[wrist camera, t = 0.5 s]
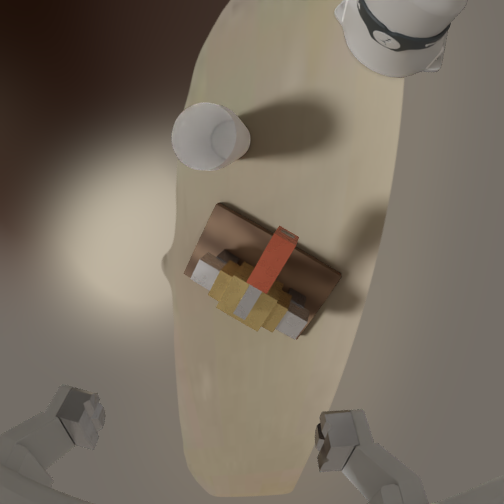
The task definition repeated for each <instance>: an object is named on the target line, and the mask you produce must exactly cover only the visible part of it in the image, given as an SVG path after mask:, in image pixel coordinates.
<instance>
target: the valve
mask: <svg viewBox="0 0 504 504" xmlns="http://www.w3.org/2000/svg"><path fill="white" fill-rule="evenodd" d="M239 260H240V258H239V257H237V256H235V255H233V254H232V253H230V252H228V251H227V250H225V249H224V250H223V251H222V252H221V253H220V254H219V255H217V257H216V256H214V255H212V254H211V253H209V252H208V253H206V254H205V255H204V256H203V257H202V258H200V259H199V261H198V263H197V266H196V268H195V270H194V272H193V274H192V276H191V278H190V279H192V280H193V281H195V282H196V283H198V284H200V285H201V286H203V287H205V288H206V289H208V290H210V292H209V293H208V295H209V296H211V297H212V298H214V299H216V300H217V301H219V303H218V305H217V307H216V308H218V309H220V310H221V311H223V312H225V313H226V314H228V315H230V316H231V317H233V318H235V319H237V320H238V321H240V322H242V323H243V324H245V325H247V326H249V327H250V328H252V329H254V330H256V331H257V332H258V330H259V329H260V327H261V326H262V327H264V328H265V329H267V330H269V331H271V332H273V331H274V330H275V329H277V330H278V331H280V332H282V333H284V334H286V335H287V336H289V337H291V338H293V339H296V338H297V336H298V335H299V333H300V332H301V331H302V329H303V328H304V327H305V325H306V324H307V323H308V317H309V310H307V309H305V308H304V307H305V301H306V296H304V295H302V294H301V293H299V292H297V291H295V290H294V289H292V288H290V289H289V291H288V293H286V292H284V291H282V287H283V285H284V284H282V283H281V282H279V281H277V280H275V281H274V283H273V284H272V286H271V288H270V289H269V291H268V293H267V294H265V293H264V292H262V293H261V295H260V296H259V298H258V299H257V301H256V303H255V304H254V306H253V308H252V309H251V311H250V312H249V314H248V316H247V317H246V319H245V320H243V319H242V318H240V317H238V316H237V315H235V314H233V313H234V311H235V309H236V308H237V306H238V304H239V302H240V301H241V299H242V297H243V296H244V294H245V292H246V290H247V289H248V287H249V285H250V284H248V283H246V282H247V280H248V278H249V277H250V275H251V273H252V271H253V270H254V268H255V267H253V266H251V265H250V264H248V263H246V262H245V261H244V262H243V264H242V265H241V266H239V265H238V264H237V263H238V261H239Z"/></svg>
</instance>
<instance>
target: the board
mask: <svg viewBox="0 0 504 504" xmlns="http://www.w3.org/2000/svg"><path fill="white" fill-rule="evenodd" d="M273 235H274V234H273V233H271V232H270V231H268V230H266V229H265V228H263V227H261V226H259V225H258V224H256V223H254V222H252V221H251V220H249V219H247V218H245V217H244V216H242V215H240V214H238V213H237V212H235V211H233V210H231V209H229V208H228V207H226V206H224V205H222V204H221V203H217V204H216V205H215V208H214V210H213V212H212V214H211V216H210V218H209V220H208V222H207V224H206V226H205V228H204V231H203V233H202V235H201V237H200V239H199V241H198V243H197V245H196V248H195V250H194V252H193V254H192V256H191V258H190V261H189V263H188V265H187V267H186V269H185V272H184V274H185V275H187V276H188V277H190V278H191V276H192V274H193V272H194V270H195V268H196V266H197V263H198V261H199V259H200V258H202V257H203V256H204V255H205V254H206V253H208V252H209V253H211V254H212V255H214V256H216V257H217V255H219V254H220V253H221V252H222V251H223V250H224V249H225V250H227V251H228V252H230V253H232V254H233V255H235V256H237V257H239V258H240V260H239V261H238V263H237V264H238V265H239V266H241V265H242V264H243V262H244V261H245V262H246V263H248V264H250V265H251V266H253V267H255V266H256V264H257V263H258V261H259V259H260V257H261V256H262V254H263V252H264V250H265V249H266V247H267V245H268V243H269V242H270V240H271V238H272V236H273ZM341 277H342V276H341V273H340V272H338V271H336V270H335V269H333V268H331V267H329V266H328V265H326V264H324V263H323V262H321V261H319V260H318V259H316V258H314V257H313V256H311V255H309V254H308V253H306V252H304V251H302V250H301V249H299V248H297V247H295V248H294V250H293V252H292V253H291V255H290V257H289V258H288V260H287V262H286V263H285V265H284V266H283V268H282V270H281V271H280V273H279V275H278V276H277V278H276V280H277V281H279V282H281V283H282V284H284V285H283V287H282V291H284V292H286V293H288V291H289V289H290V288H292V289H294V290H295V291H297V292H299V293H301V294H302V295H304V296H306V301H305V307H304V308H305V309H307V310H309V317H308V323H307V324H306V325H305V327H304V328H303V329H302V331H301V332H300V333H299V335H298V336H297V338H296V340H297V339H298V337H299V336H300V335H301V333H302V332H303V331H304V329H305V328H306V327H307V325H308V324H309V322H310V321H311V320H312V318H313V317H314V316H315V314H316V313H317V311H318V310H319V309H320V307H321V306H322V304H323V303H324V302H325V300H326V299H327V297H328V296H329V294H330V293H331V291H332V290H333V289H334V287H335V286H336V284H337V283H338V281H339V280H340V278H341Z"/></svg>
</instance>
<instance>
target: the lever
mask: <svg viewBox="0 0 504 504" xmlns="http://www.w3.org/2000/svg"><path fill="white" fill-rule="evenodd" d="M298 239H299V237H298V236H296V235H295V234H293V233H291V232H289V231H288V230H286V229H284V228H282V227H281V226H279V227H278V228H277V230H276V231H275V233H274V235H273V236H272V238H271V240H270V242H269V243H268V245H267V247H266V249H265V250H264V252H263V254H262V256H261V257H260V259H259V261H258V263H257V264H256V266H255V268H254V270H253V271H252V273H251V275H250V277H249V278H248V280H247V282H246V283H248V284H250V285H249V287H248V289H247V290H246V292H245V294H244V296H243V297H242V299H241V301H240V302H239V304H238V306H237V308H236V309H235V311H234V313H233V314H235V315H237V316H238V317H240V318H242V319H243V320H245V319H246V317H247V316H248V314H249V312H250V311H251V309H252V308H253V306H254V304H255V303H256V301H257V299H258V298H259V296H260V295H261V293H262V292H264V293H265V294H267V293H268V291H269V289H270V288H271V286H272V284H273V283H274V281H275V280H276V278H277V276H278V275H279V273H280V271H281V270H282V268H283V266H284V265H285V263H286V262H287V260H288V258H289V257H290V255H291V253H292V252H293V250H294V248H295V247H296V244H297V241H298Z"/></svg>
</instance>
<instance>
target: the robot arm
mask: <svg viewBox="0 0 504 504" xmlns="http://www.w3.org/2000/svg"><path fill="white" fill-rule="evenodd" d="M467 1H468V0H343V1H342V2H341V3H340V4H339V5H338V6H337V7H336V9H335V12H334V14H335V17H336V18H337V20H338V21H339V22H340V24H341V25H342V27H343V30H344V35H345V39H346V42H347V45H348V47H349V49H350V50H351V52H352V53H353V55H354V56H355V57H356V58H357V59H358V60H359V61H360V62H361V63H362V64H363V65H365V66H366V67H368V68H369V69H371V70H373V71H375V72H377V73H379V74H382V75H386V76H390V77H406V76H410V75H413V74H416V73H418V72H422V71H425V72H437V71H439V69H440V68H441V65H442V60H443V55H444V50H445V44H446V39H447V33H448V29H449V27H450V24H451V22H452V21H453V20H454V18H455V17H456V16H457V15H458V14H459V13H460V12H461V11H462V10H463V9H464V8H465V6H466V4H467ZM344 7H345V8H344ZM436 59H437V60H436ZM99 400H100V398H99V395H98V393H94V392H90V391H87V390H83V389H78V388H75V387H72V386H68V385H61V386H60V387H59V389H58V390H57V392H56V394H55V395H54V397H53V399H52V401H51V402H50V404H49V406H48V407H47V409H46V411H45V413H43V412H41V413H39V414H37V415H35V416H33V417H32V418H30V419H28V420H26V421H24V422H23V423H21V424H19V425H17V426H15V427H13V428H12V429H10V430H8V431H6V432H4V433H2V434H1V435H0V504H94V503H90V502H88V501H84V500H81V499H79V498H76V497H73V496H70V495H68V494H65V493H63V492H60V491H57V490H55V489H52V488H51V487H52V484H53V479H52V477H51V476H50V475H49V474H48V473H47V471H46V469H47V468H48V467H50V466H51V465H52V464H54V463H55V462H56V461H57V460H59V459H60V458H61V457H62V456H64V455H65V454H66V453H67V452H69V451H70V450H71V449H72V448H74V447H75V445H77V446H81V447H84V448H88V449H92V450H94V448H95V446H96V443H97V441H98V438H99V436H98V433H97V432H98V431H99V430H101V429H102V428H103V426H104V423H105V410H104V407H103V406H102V405H101V404H100V403H99ZM315 445H316V448H317V449H318V450H319V451H320V452H319V454H318V457H317V459H318V466H319V472H326V471H327V472H328V471H341V470H342V472H343V474H344V475H345V476H346V477H347V478H348V479H349V480H350V481H351V483H352V484H353V485H354V486H355V487H356V488H357V489H358V490H359V491H360V492H361V493H362V494H363V496H365V498H366V499H367V500H368V501H369V502H368V503H367V504H429V502H428V499H427V496H426V493H425V490H424V487H423V484H422V481H421V478H420V476H419V475H417V474H416V473H415V472H413V471H412V470H411V469H410V468H408V467H407V466H406V465H404V464H403V463H402V462H401V461H399V460H398V459H397V458H396V457H394V456H393V455H392V454H391V453H389V452H388V451H387V450H386V449H385V448H383V447H382V446H381V445H380V444H379V443H374V441H373V437H372V434H371V431H370V428H369V424H368V421H367V418H366V415H365V412H364V410H363V409H357V410H341V411H327V412H322V413H321V415H320V423H319V424H318V425H317V427H316V430H315ZM431 504H504V476H500V477H497V478H495V479H493V480H490V481H488V482H486V483H484V484H482V485H479V486H477V487H475V488H472V489H470V490H467V491H465V492H462V493H460V494H457V495H454V496H452V497H449V498H446V499H443V500H440V501H437V502H435V503H431Z"/></svg>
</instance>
